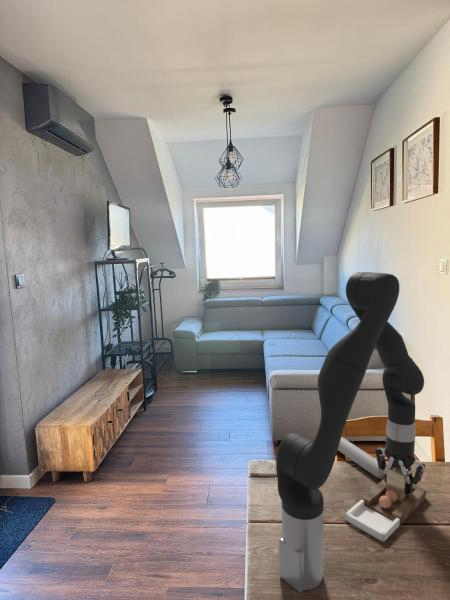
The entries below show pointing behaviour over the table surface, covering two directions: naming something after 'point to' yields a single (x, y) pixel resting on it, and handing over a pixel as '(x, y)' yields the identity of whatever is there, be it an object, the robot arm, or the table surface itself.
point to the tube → (361, 458)
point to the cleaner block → (396, 483)
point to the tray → (371, 521)
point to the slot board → (396, 508)
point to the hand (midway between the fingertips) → (398, 488)
